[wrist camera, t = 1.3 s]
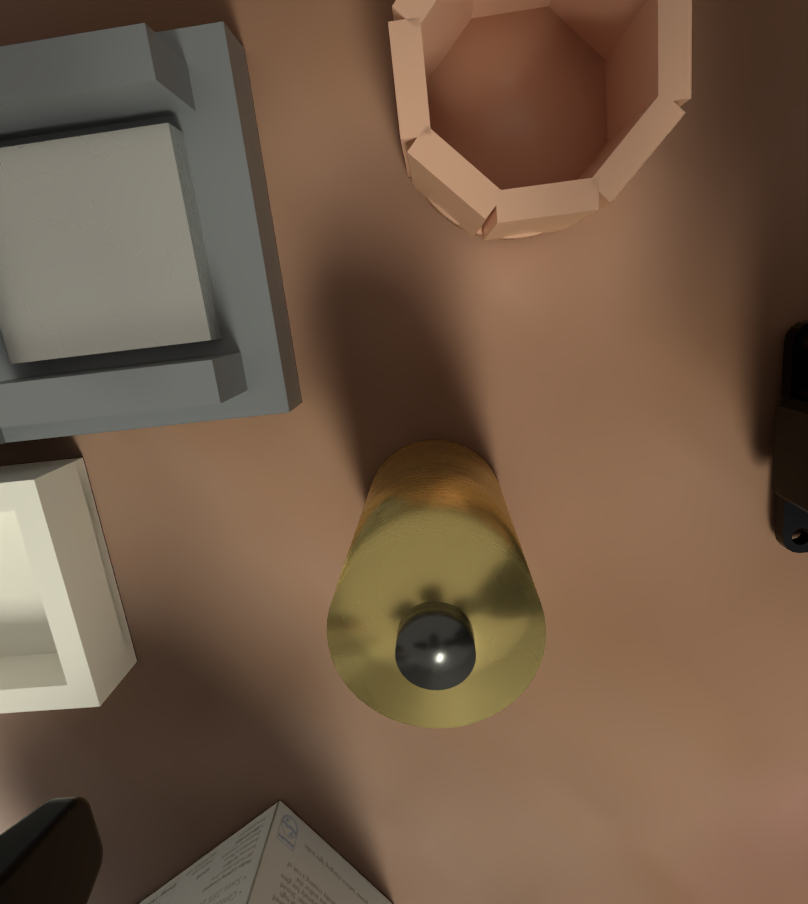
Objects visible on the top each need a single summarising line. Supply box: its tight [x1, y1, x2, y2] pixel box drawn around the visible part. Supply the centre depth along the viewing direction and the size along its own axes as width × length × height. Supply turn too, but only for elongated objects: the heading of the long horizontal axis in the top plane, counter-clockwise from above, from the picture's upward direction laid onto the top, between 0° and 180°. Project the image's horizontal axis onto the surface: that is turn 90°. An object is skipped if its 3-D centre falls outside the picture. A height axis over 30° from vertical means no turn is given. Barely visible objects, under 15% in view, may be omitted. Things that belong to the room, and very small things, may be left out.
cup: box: [388, 0, 692, 241], centre depth 13 cm, size 6×6×4 cm
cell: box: [327, 440, 546, 728], centre depth 14 cm, size 4×4×8 cm
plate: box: [0, 123, 223, 364], centre depth 14 cm, size 5×5×1 cm
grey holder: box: [0, 21, 302, 444], centre depth 14 cm, size 11×9×5 cm
